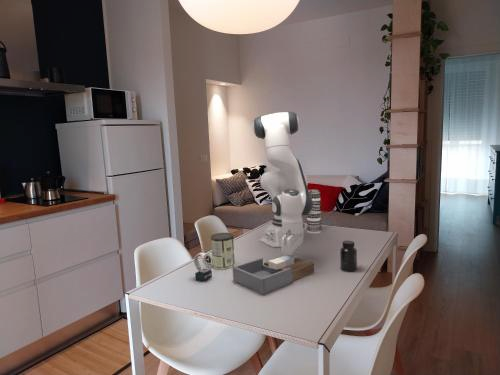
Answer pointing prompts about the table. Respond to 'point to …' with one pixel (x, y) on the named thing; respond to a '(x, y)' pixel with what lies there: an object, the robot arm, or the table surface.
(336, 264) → the table surface
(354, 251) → the supplement bottle
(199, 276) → the watch
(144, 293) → the table surface
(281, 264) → the cream tile
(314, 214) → the decorative candle
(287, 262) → the pale blue brick
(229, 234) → the coffee can
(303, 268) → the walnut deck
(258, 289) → the box
